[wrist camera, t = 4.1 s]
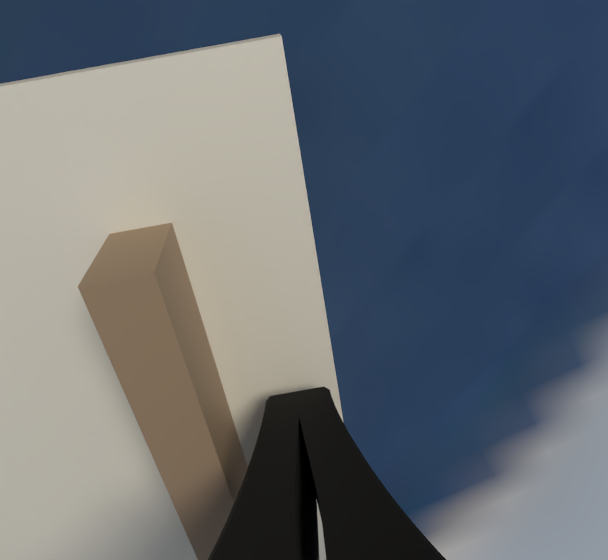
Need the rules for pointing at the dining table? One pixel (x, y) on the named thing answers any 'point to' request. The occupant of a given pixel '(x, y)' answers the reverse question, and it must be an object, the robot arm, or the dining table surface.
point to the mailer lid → (149, 298)
